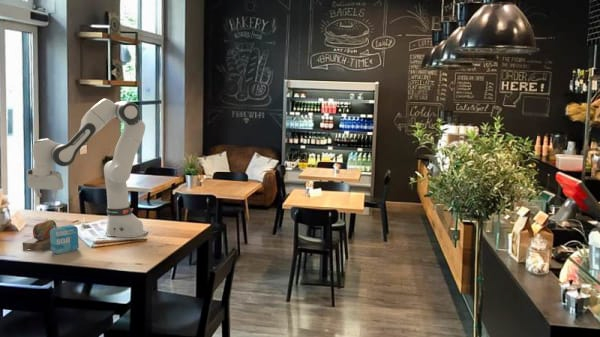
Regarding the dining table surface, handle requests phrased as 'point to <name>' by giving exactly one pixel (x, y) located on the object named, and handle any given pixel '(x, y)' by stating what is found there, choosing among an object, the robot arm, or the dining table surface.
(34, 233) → the tin
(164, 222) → the dining table surface
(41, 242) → the walnut block
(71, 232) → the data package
